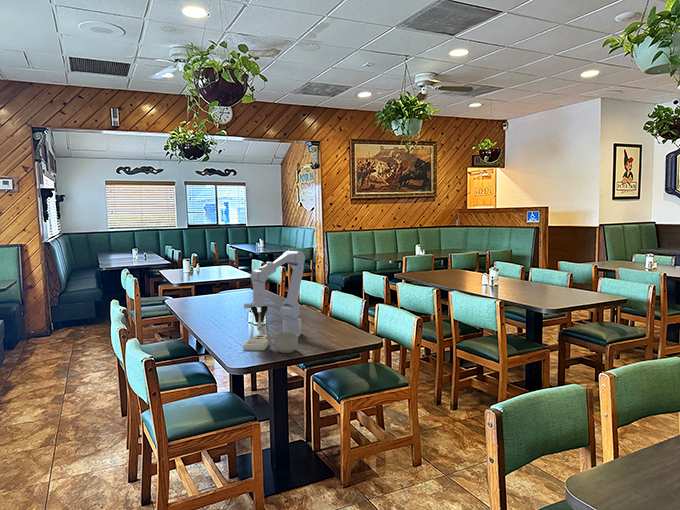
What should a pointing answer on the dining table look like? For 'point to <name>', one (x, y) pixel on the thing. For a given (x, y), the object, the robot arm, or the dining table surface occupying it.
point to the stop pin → (259, 321)
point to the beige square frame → (260, 337)
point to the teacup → (284, 341)
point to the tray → (255, 344)
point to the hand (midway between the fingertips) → (259, 322)
